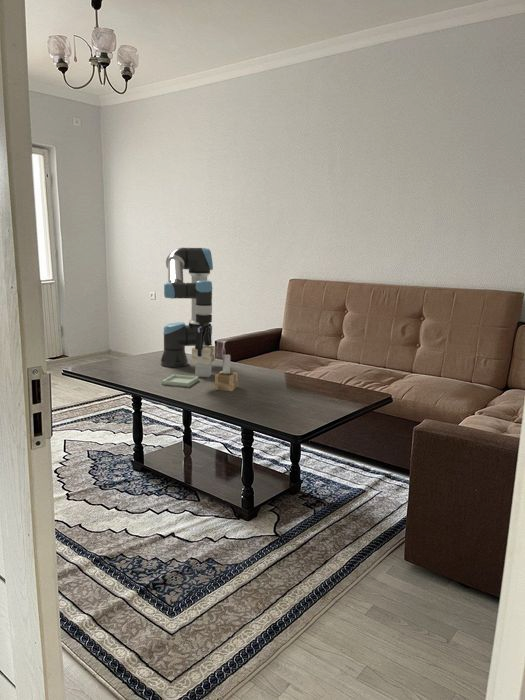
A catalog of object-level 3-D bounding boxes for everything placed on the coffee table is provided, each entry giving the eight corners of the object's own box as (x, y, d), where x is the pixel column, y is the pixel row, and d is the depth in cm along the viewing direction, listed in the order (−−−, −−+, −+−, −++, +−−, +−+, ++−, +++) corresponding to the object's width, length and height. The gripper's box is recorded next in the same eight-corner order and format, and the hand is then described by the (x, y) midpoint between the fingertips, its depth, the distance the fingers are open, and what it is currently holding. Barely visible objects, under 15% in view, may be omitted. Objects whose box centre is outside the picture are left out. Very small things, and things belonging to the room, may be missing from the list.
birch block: (198, 358, 264) (198, 344, 263) (214, 360, 262) (215, 346, 261) (191, 362, 256) (191, 348, 255) (208, 364, 254) (208, 349, 253)
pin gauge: (223, 386, 260) (224, 354, 257) (230, 387, 260) (231, 354, 256) (221, 388, 257) (221, 355, 254) (228, 389, 256) (229, 356, 253)
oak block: (220, 385, 263) (220, 371, 262) (237, 386, 261) (237, 372, 260) (214, 389, 255) (215, 375, 254) (232, 391, 253) (232, 376, 252)
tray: (173, 378, 274) (173, 374, 274) (198, 380, 271) (198, 376, 270) (161, 384, 261) (161, 380, 261) (188, 387, 258) (188, 383, 258)
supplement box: (211, 374, 285) (211, 350, 283) (209, 377, 278) (209, 353, 275) (198, 373, 286) (198, 349, 283) (194, 376, 279) (194, 352, 276)
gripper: (204, 310, 265) (204, 355, 270) (187, 316, 245) (187, 365, 250) (218, 311, 263) (218, 356, 268) (203, 317, 243) (203, 366, 248)
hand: (203, 360), depth 259 cm, fingers closed on birch block, 8 cm apart
